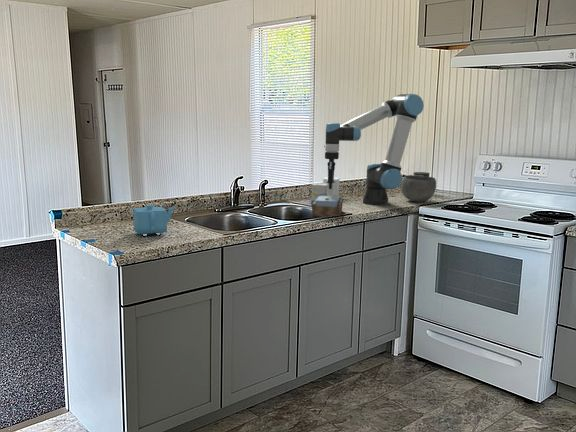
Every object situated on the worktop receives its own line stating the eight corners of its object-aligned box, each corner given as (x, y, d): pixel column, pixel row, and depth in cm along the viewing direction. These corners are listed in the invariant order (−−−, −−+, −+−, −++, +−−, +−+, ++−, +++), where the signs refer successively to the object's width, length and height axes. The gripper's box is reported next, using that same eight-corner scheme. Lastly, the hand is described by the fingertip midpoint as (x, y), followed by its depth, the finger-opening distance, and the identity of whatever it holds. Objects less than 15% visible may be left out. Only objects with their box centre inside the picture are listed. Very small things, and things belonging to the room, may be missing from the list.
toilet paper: (322, 198, 348) (322, 178, 345) (323, 195, 358) (323, 176, 356) (338, 199, 347) (339, 179, 344) (339, 196, 357) (339, 177, 354)
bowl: (397, 202, 336) (398, 177, 334) (403, 197, 355) (404, 174, 352) (432, 205, 329) (434, 179, 326) (437, 200, 348) (438, 175, 345)
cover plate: (339, 202, 304) (339, 194, 303) (336, 207, 289) (336, 199, 288) (319, 201, 306) (319, 193, 305) (315, 206, 291) (315, 198, 290)
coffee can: (426, 193, 377) (427, 172, 374) (429, 195, 366) (431, 173, 364) (410, 192, 377) (411, 171, 374) (413, 195, 367) (415, 173, 364)
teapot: (138, 239, 235) (137, 208, 232) (133, 231, 249) (132, 202, 246) (181, 236, 242) (181, 206, 239) (173, 228, 256) (173, 200, 253)
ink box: (325, 205, 323) (326, 185, 321) (310, 204, 324) (311, 184, 322) (327, 203, 331) (328, 183, 329) (313, 202, 333) (313, 182, 331)
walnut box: (342, 211, 306) (342, 199, 305) (339, 217, 288) (339, 205, 287) (316, 209, 308) (316, 198, 307) (312, 215, 291) (312, 204, 290)
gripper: (326, 150, 313) (324, 192, 317) (323, 152, 300) (322, 196, 305) (339, 151, 312) (338, 193, 316) (337, 152, 299) (335, 196, 303)
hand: (330, 194), depth 310 cm, fingers closed
